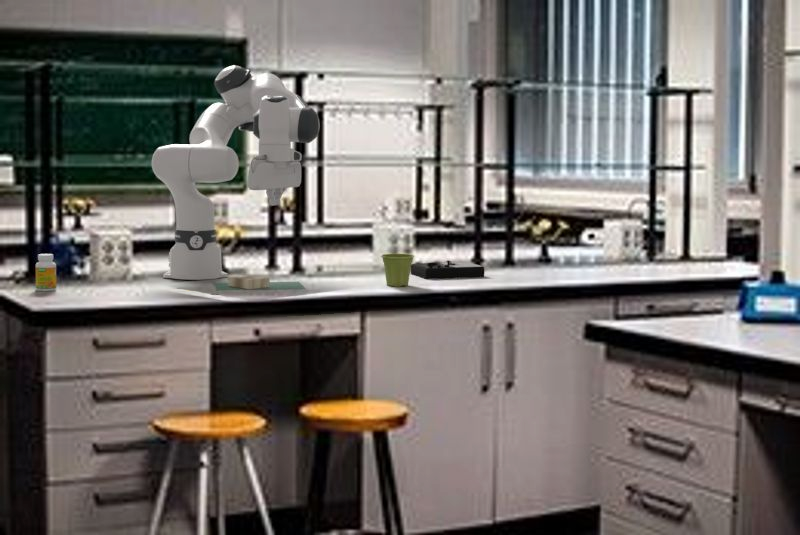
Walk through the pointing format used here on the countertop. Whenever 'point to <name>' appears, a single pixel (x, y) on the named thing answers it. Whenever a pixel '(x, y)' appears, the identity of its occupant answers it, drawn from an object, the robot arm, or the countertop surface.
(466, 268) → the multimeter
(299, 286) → the green mat
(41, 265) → the supplement bottle
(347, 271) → the countertop surface
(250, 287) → the brown wood block
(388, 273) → the plant pot
